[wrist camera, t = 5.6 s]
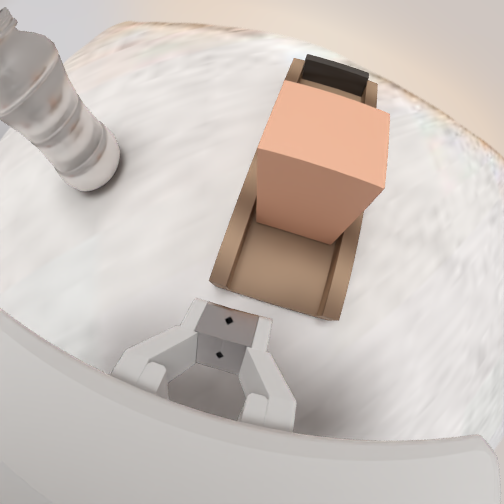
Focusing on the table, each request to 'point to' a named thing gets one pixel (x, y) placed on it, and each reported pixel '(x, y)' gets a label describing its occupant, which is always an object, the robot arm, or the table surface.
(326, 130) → the block
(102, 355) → the table surface
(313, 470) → the robot arm
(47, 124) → the plastic bottle
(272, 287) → the chute
